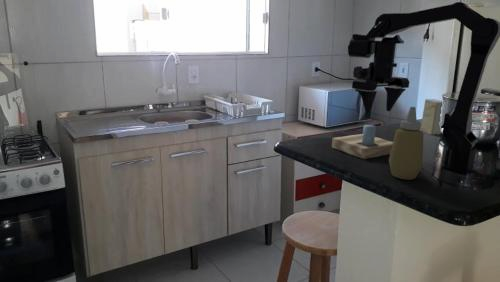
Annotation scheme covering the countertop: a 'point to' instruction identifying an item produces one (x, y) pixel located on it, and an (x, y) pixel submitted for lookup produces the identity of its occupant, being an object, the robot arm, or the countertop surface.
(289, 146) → the countertop surface
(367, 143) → the peg
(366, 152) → the board
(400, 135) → the squeeze bottle
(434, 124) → the skincare box
